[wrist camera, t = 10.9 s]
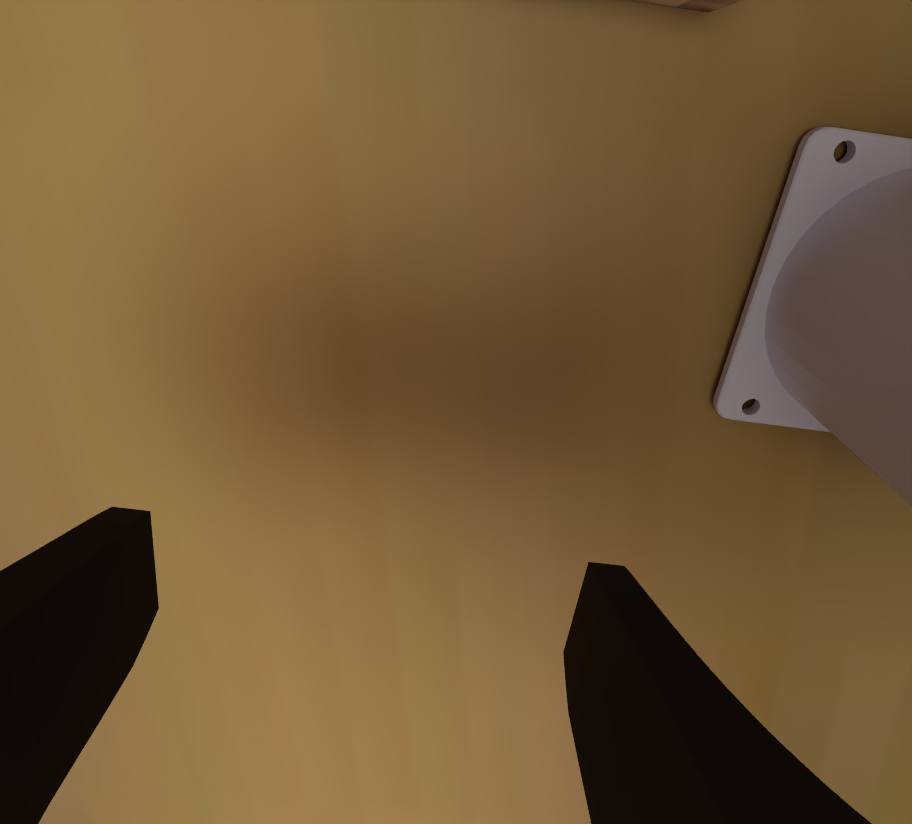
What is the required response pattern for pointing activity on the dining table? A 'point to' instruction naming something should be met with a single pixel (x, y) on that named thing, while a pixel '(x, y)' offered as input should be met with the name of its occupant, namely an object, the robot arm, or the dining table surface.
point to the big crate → (694, 4)
